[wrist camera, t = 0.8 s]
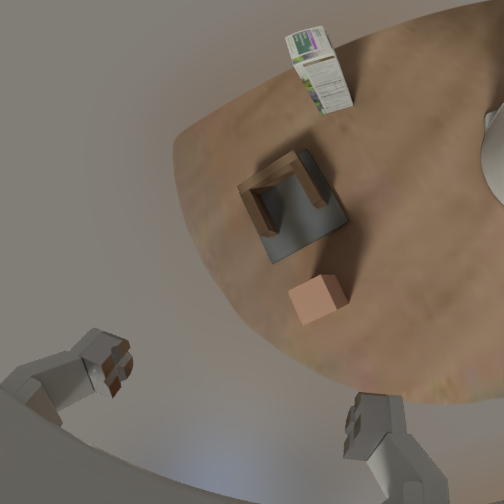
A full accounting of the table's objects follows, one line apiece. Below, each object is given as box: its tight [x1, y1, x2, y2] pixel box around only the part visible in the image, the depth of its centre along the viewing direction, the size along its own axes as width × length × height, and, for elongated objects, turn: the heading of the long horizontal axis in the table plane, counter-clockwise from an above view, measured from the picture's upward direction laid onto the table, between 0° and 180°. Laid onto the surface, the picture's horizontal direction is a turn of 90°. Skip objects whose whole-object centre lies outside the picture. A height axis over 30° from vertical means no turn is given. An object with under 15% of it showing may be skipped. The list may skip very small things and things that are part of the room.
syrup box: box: [285, 26, 354, 115], centre depth 40 cm, size 6×6×14 cm
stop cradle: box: [237, 149, 349, 264], centre depth 46 cm, size 13×13×5 cm
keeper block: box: [288, 274, 349, 325], centre depth 41 cm, size 4×4×9 cm
